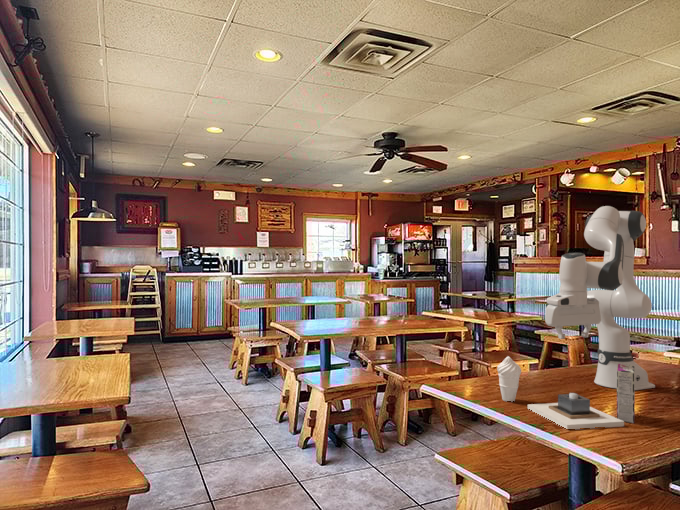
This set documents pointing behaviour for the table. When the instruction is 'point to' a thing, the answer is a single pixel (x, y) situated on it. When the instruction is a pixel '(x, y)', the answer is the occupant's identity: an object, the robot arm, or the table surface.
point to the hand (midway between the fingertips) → (573, 337)
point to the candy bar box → (626, 393)
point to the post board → (575, 416)
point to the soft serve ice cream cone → (508, 378)
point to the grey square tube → (573, 405)
